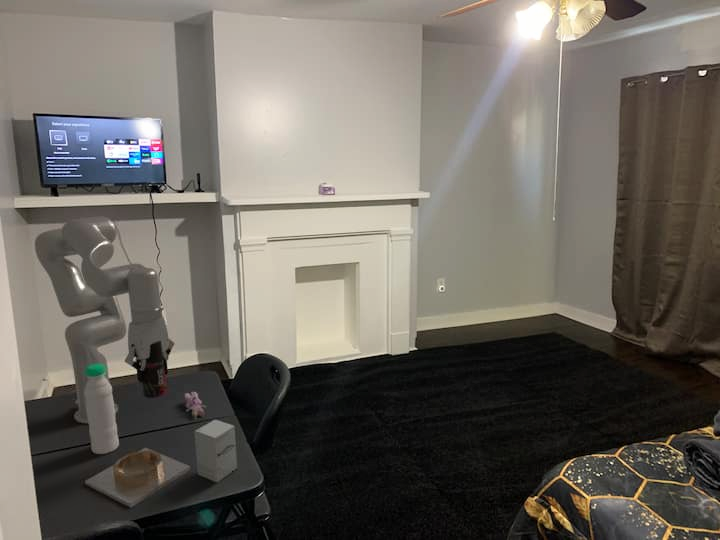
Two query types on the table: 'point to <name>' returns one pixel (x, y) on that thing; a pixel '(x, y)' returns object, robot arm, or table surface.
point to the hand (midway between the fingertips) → (153, 377)
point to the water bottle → (100, 411)
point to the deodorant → (155, 372)
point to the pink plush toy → (194, 404)
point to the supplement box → (215, 450)
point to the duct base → (140, 490)
